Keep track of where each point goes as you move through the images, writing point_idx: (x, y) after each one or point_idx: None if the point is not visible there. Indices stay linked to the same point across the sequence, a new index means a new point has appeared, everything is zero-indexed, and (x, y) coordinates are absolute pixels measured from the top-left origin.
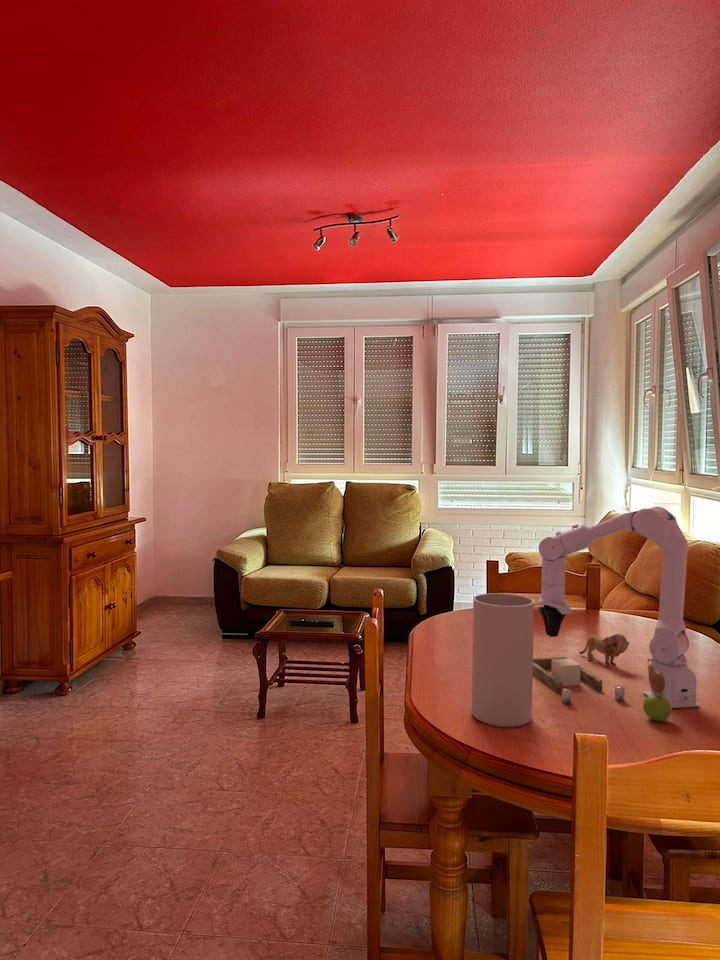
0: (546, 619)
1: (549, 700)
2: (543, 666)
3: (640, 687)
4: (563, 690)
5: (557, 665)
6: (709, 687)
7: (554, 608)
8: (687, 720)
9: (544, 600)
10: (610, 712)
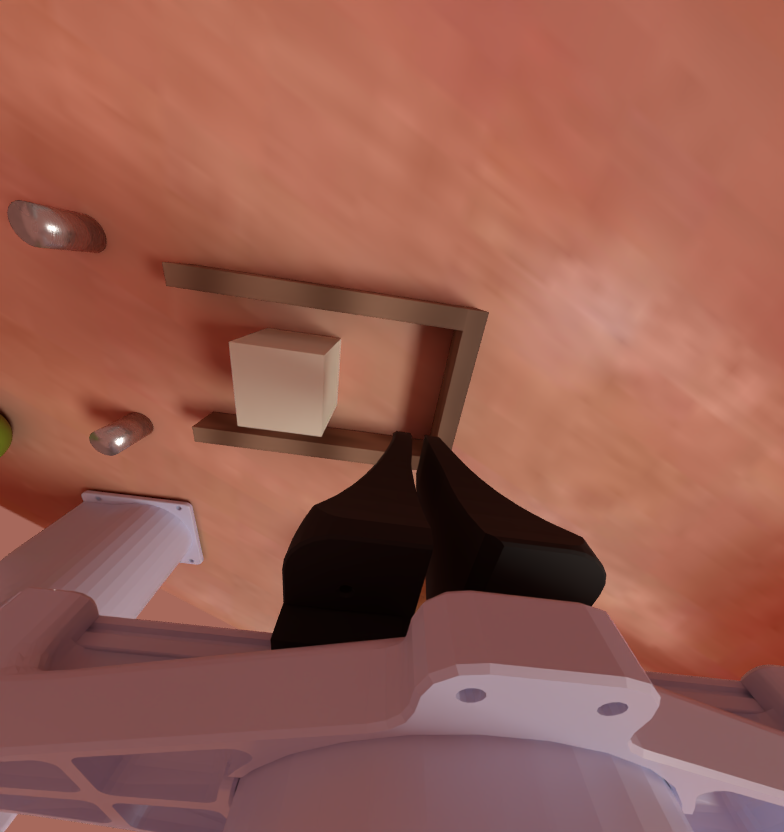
0: (445, 495)
1: (112, 176)
2: (445, 378)
3: (239, 523)
4: (18, 202)
5: (269, 345)
6: (232, 623)
7: (293, 644)
8: (18, 482)
9: (419, 769)
10: (29, 336)
